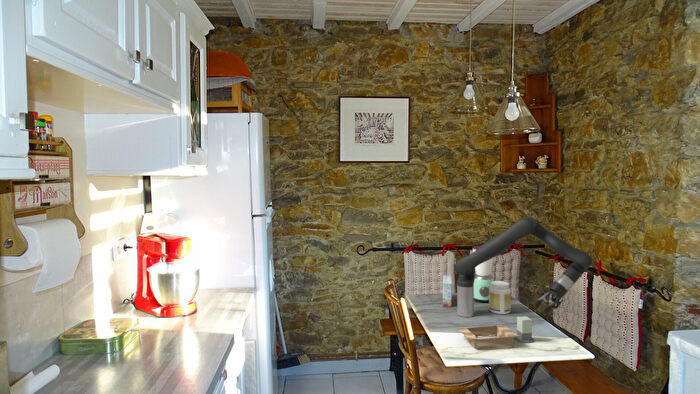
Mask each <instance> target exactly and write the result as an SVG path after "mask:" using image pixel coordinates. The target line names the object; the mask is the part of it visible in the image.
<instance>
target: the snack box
mask: <svg viewBox="0 0 700 394" xmlns="http://www.w3.org/2000/svg"><path fill="white" fill-rule="evenodd" d="M452 284H453V283H452V276H451V275H443V277H442V307H444V308H452V299H453V298H452V296H453V295H452V294H453V292H452V291H453V289H452V288H453V285H452Z"/></svg>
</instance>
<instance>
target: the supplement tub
mask: <svg viewBox="0 0 700 394" xmlns="http://www.w3.org/2000/svg"><path fill="white" fill-rule="evenodd" d="M490 286H491V287H490V288H489V302H488V310H489V311H490V312H491V313H494V314H497V315H507V314H510V313H511V310H512V309H511V308H512V307H511V305H512V304H511V303H512V300H511V299H512V298H511V297H512V295H511V294H512V291H511V288H510V283H509V282H506V281H502V280H498V281H497V280H494V281H493V282H491V285H490Z"/></svg>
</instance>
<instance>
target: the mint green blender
mask: <svg viewBox="0 0 700 394" xmlns="http://www.w3.org/2000/svg"><path fill="white" fill-rule="evenodd" d="M480 246H481V245H476V246H472V253H473V252H474V251H475V250H477V249H478V248H479V247H480ZM493 261H494V258H492V259H490V260H488V261H485V262H483V263H481V264H479V265H478V266H477V267H475V280H474V301H475V303H480V302H483V303H489V288H490V287H491V286H490V285H491V282H493V281H495V280H494V276H493V275H492V274H491V273H492V267H493Z"/></svg>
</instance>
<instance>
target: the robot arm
mask: <svg viewBox="0 0 700 394" xmlns="http://www.w3.org/2000/svg"><path fill="white" fill-rule="evenodd" d="M529 235H532V236H533V237H535V238H537V239H539V240H540V241H541V242H542V243H544V244H546V246H547V247H548V248H550V249H551V250H552V251H554V252H555V253H557V254H558V255H560V256H561V257H563V258H564V259H569V260H571V261H573V262H572V263H571V264H570V265H569V267H567V268H566V269H565V270H564V271H563V272H562V273H561V274H560V275H559V276H558V277H557V278H556V279H555V280H554V281H553V282H552V283H551V284H550V286H549V287H548V288H549V290H548V291H547V290H546V289H543V290H541V292H540V293H539V294H538V295H537V296H536V299H537V301H536V302H535V303H534V304H533V307H534V308H535V309H538V308H539V307H540V306H541V305H542V303H548V305H547V306H546V307H545V308H543V313H544V314H546V315H547V314H549V313H550V312H551V311H552V310H553V309H555V310H556V309H558V308H559V307H560V305H561V304H562V303H563V302H564V299H563V298H564V297H565V296H566V294H568V292H569V291H570V290H571V289H572V288H573V286H574V285H575V284H576V282H578V280H579V279H580V277H581V276H582V275H583V274H584V273H585V272H586V271H588V269H589V268H590V267H591V266H592V265H593V262H594V260H593V259H594V258H593V257H592V256H591V255H590V254H589V253H588V252H586V251H583V250H582V249H579V248H577V247H574V246H573V245H571V244H570V243H568V242H567V241H565V240H563V239H561V238H560V236H559V237H558V236H557V235H555V233H552V232H550V231H549V230H548V229H546V228H545V227H544V226H543V225H541V224H540V222H539V221H537V220H536V219H534V218H533V217H532V216H523V217H522V218H520V219H519V220H517V221H516V222H515V223H514V224H513V225H512V226H511V227H509V228H507V229H506V230H505V231H503V232H500V233H499V234H496V235H495V236H493V237H491V238H490V239H489V240H486V242H484V243H483V244H482V245H479V246H480V247H479V248H478V249H477V250H475V251H474V252H473V251H472V252H471V253H470V254H468V255H467V256H465V257H462V258H460V259H458V260H457V261H456V262H455V266H454V269H455V272H456V273H457V274H459V275H458V279H457V281H456V286H457V287H456V292H457V294H456V297H457V298H456V299H457V301H456V304H457V306H456V308H457V310H456V315H457V316H460V317H462V318H463V317H464V318H470V317H473V316H475V315H474V314H475V312H474V311H475V302H474V301H475V300H474V280H475V274H476V270H475V267H477V266H478V265H479V264H481V263H483V262H485V261H488V260H490V259H492V258H493V259H494V258H495V257H497V256H498V255H501V254H502V253H503V252H505V251H506V250H507V249H508V248H510V247H511V246H512V245H513V244H515V242H517V241H519V240H520V239H523V238H525V237H526V236H529Z"/></svg>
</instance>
